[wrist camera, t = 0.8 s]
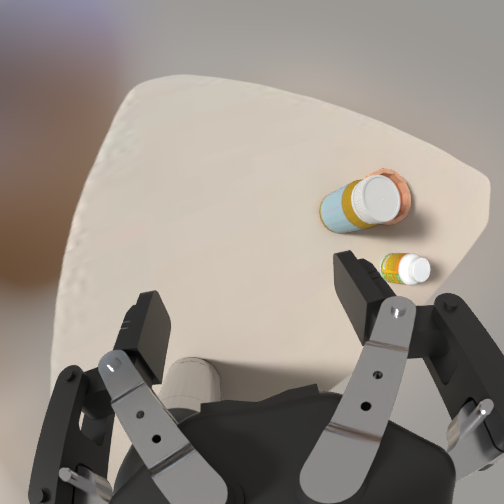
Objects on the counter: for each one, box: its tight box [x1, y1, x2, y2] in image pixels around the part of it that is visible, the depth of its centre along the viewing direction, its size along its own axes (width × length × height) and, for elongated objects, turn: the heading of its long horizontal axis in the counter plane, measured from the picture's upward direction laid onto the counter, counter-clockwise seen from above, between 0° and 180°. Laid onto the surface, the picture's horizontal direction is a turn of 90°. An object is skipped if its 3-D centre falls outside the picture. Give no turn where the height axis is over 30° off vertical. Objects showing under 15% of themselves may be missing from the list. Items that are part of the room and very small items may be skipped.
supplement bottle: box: [380, 253, 430, 285], centre depth 45 cm, size 5×5×10 cm
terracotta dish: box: [365, 168, 411, 225], centre depth 48 cm, size 10×10×2 cm
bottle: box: [320, 175, 400, 233], centre depth 41 cm, size 7×7×15 cm
